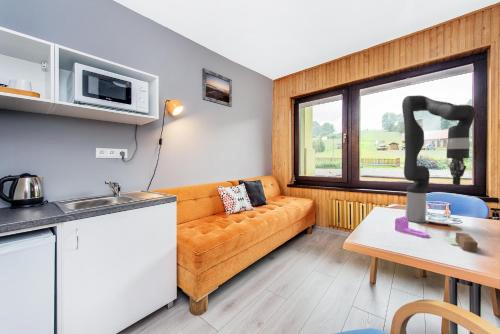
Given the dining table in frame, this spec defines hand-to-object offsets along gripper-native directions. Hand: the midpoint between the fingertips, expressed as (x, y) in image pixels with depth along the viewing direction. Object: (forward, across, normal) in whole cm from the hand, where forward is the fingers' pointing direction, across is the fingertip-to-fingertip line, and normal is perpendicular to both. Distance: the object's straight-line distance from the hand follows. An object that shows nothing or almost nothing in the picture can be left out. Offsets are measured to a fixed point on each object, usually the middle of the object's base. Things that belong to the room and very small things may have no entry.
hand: (456, 184), depth 98 cm
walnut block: (+22, -9, 0) cm, 24 cm away
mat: (+25, -8, 0) cm, 26 cm away
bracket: (+25, -4, +17) cm, 31 cm away
